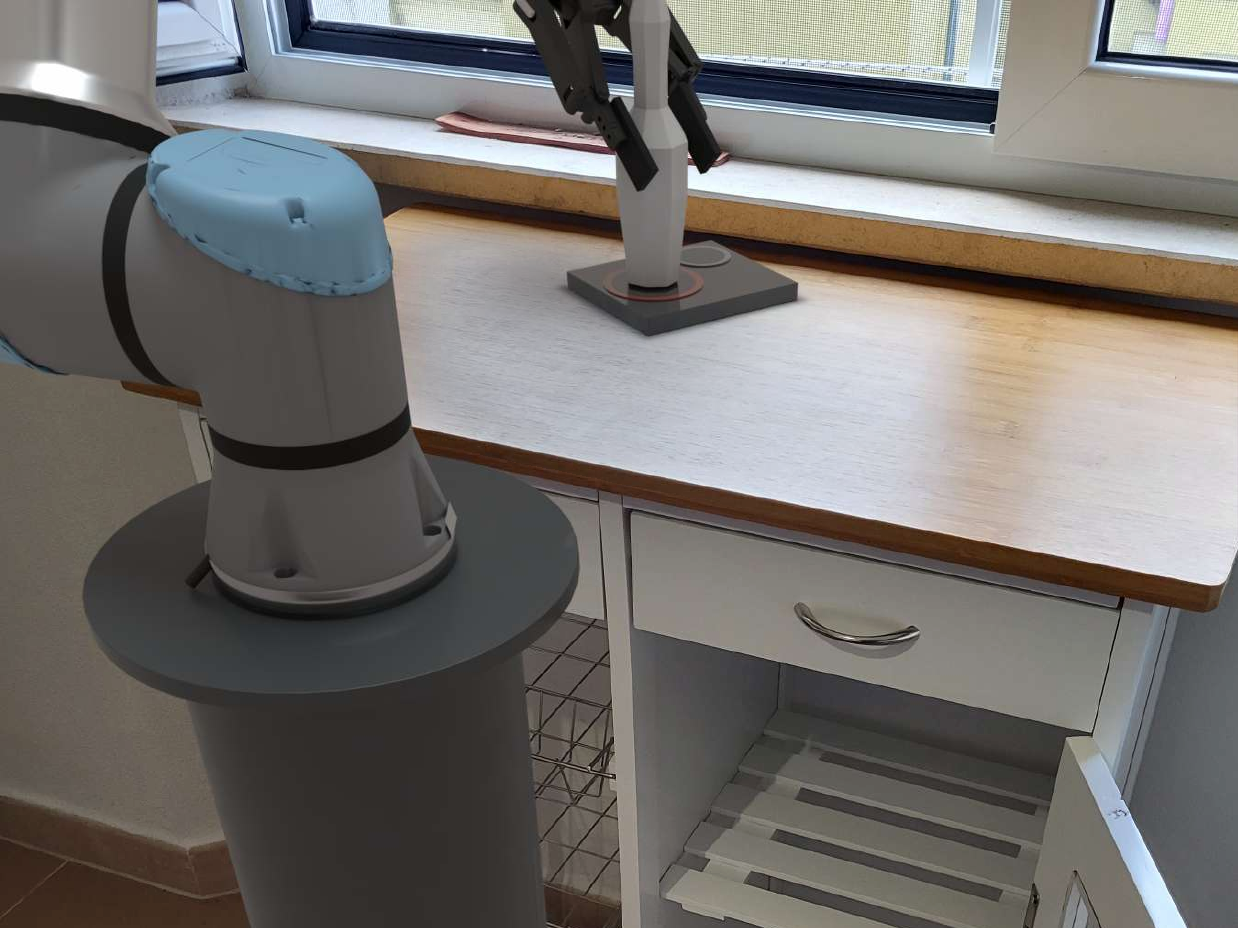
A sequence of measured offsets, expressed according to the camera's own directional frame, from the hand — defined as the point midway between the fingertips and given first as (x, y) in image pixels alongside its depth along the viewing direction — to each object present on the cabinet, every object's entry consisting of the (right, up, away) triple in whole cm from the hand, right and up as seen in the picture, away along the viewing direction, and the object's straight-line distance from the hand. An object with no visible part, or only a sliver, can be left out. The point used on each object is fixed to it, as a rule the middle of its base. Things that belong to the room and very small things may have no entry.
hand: (680, 172), depth 118 cm
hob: (0, -5, +11) cm, 12 cm away
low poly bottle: (-2, -5, +8) cm, 10 cm away
